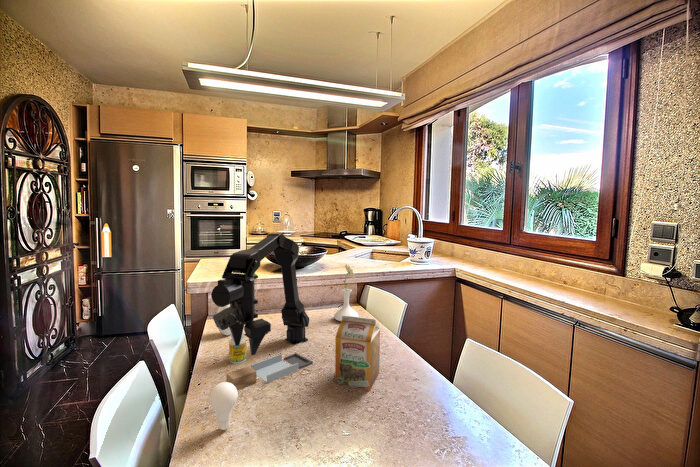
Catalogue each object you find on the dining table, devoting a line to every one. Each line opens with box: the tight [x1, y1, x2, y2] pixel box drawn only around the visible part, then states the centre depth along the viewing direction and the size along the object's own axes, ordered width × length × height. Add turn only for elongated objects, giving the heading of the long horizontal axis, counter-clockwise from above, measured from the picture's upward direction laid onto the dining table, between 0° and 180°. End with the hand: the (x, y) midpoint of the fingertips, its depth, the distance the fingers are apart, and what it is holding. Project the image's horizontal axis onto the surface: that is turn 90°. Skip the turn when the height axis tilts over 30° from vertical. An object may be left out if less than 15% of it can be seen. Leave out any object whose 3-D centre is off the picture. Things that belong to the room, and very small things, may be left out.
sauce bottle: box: [216, 304, 231, 336], centre depth 135 cm, size 8×8×18 cm
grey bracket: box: [250, 353, 299, 384], centre depth 106 cm, size 11×10×2 cm
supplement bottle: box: [228, 331, 248, 365], centre depth 113 cm, size 5×5×10 cm
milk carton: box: [334, 315, 381, 392], centre depth 102 cm, size 11×11×19 cm
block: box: [226, 365, 257, 391], centre depth 98 cm, size 7×4×4 cm, turn 132°
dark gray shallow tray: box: [283, 352, 314, 370], centre depth 113 cm, size 5×9×1 cm, turn 46°
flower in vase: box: [333, 264, 360, 322], centre depth 154 cm, size 13×11×25 cm
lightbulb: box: [208, 381, 239, 431], centre depth 79 cm, size 6×6×11 cm
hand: (245, 349), depth 98 cm, fingers open, 9 cm apart
